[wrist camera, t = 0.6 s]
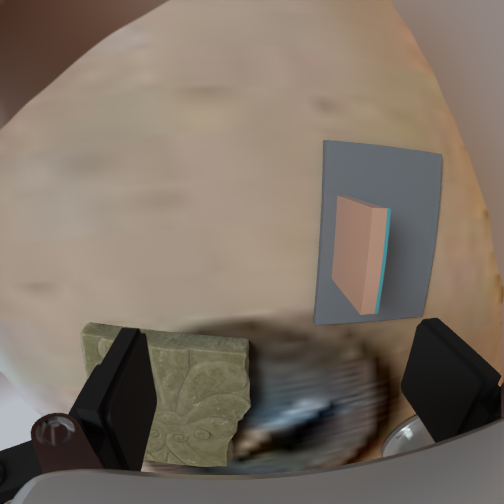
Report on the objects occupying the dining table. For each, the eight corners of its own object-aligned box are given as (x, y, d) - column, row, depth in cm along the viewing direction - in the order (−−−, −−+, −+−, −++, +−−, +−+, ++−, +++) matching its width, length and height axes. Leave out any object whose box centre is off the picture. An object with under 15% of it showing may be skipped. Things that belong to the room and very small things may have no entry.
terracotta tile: (345, 278, 31) (377, 313, 23) (331, 278, 31) (360, 314, 23) (352, 196, 29) (391, 208, 21) (337, 195, 29) (372, 207, 21)
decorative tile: (112, 438, 37) (106, 456, 34) (87, 319, 32) (74, 334, 29) (242, 453, 39) (243, 472, 35) (254, 334, 34) (257, 353, 30)
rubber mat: (418, 313, 34) (421, 316, 33) (313, 321, 33) (314, 324, 32) (437, 154, 29) (442, 154, 28) (323, 140, 28) (325, 140, 27)
